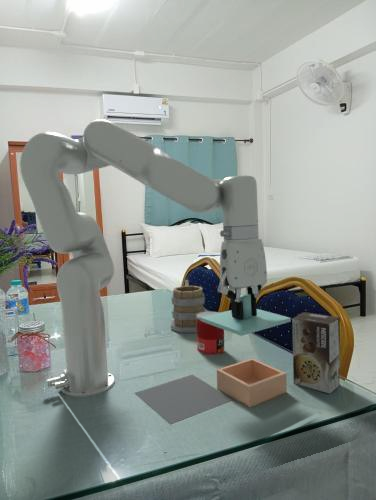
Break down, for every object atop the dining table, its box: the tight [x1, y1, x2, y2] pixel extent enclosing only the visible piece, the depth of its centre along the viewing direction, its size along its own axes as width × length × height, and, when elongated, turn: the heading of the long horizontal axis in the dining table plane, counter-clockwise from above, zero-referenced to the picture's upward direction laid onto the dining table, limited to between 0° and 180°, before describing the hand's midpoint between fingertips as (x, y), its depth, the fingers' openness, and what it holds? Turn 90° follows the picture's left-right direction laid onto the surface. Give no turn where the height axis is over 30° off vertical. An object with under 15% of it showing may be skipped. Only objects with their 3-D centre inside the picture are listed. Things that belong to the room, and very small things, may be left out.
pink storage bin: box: [216, 357, 287, 409], centre depth 88 cm, size 11×11×5 cm
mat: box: [134, 374, 234, 425], centre depth 86 cm, size 16×16×1 cm
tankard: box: [170, 279, 207, 334], centre depth 141 cm, size 20×13×15 cm, turn 179°
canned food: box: [196, 311, 225, 355], centre depth 114 cm, size 8×8×11 cm
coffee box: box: [291, 311, 341, 394], centre depth 91 cm, size 9×6×16 cm
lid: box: [201, 293, 292, 337], centre depth 86 cm, size 14×14×6 cm
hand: (244, 315), depth 86 cm, fingers closed on lid, 3 cm apart
